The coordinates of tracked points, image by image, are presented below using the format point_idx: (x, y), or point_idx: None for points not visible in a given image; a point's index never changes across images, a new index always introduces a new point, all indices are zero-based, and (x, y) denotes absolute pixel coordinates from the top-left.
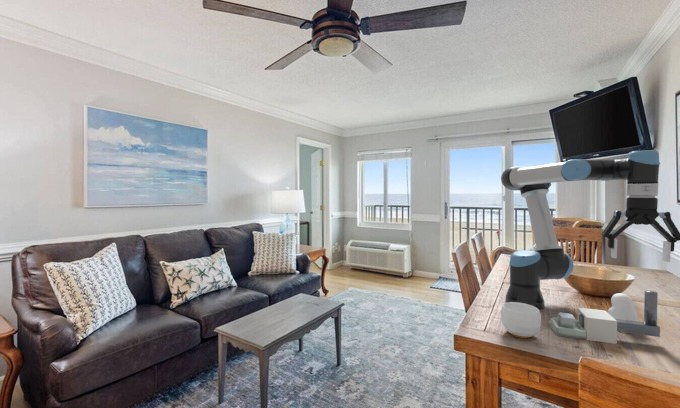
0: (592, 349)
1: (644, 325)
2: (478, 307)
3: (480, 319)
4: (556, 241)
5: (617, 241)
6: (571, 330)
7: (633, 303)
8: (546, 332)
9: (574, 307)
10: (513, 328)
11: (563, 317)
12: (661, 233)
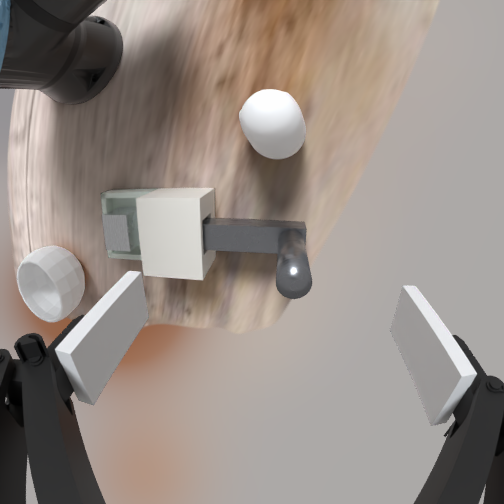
0: (166, 296)
1: (272, 252)
2: (11, 151)
3: (20, 220)
4: None
5: (99, 395)
6: (132, 258)
7: (298, 134)
8: (102, 241)
9: (197, 21)
10: (54, 301)
11: (109, 249)
12: (441, 468)
